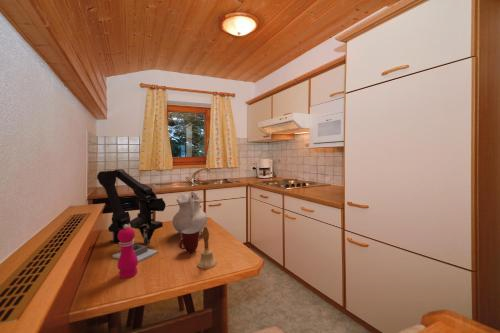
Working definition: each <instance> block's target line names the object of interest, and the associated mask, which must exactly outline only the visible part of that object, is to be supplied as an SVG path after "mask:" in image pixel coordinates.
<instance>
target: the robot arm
mask: <svg viewBox="0 0 500 333" xmlns="http://www.w3.org/2000/svg"><path fill="white" fill-rule="evenodd" d="M96 179H97V181H98V183H99V184H100V185H101V186H102V187H103V188H104V190H105V193H106V196H107V200H108V202H109V205H110V208H111V211H112V216H111V224H110V226H108V227H107V230H108V232H111V233H112V239H111V240H110V242H112V243H114V244H120V243H119V242H120V240H119V239H118V233H119V231H120V230H122V229H124V228H123V226H124V225H125V224H127V225H128V226H130V228H132V229H135V230H136V229H138V230H139V232H140V234H141V237H142V238H143V240H144V237H143V228H145V227H148V228H146V229H145V230H146V231H147V236H148V240H150V241H151V239H152V237H153V234H154V232H155V230H157V229H158V230H159V229H160V228H163V227H164V223H163V222H162V221H159V220H156V221H155V220H154V219H153V216H152V215H153V214H154V212H164V211H165V209H166V202H165V200H163V197H158V196H157V195H156V194H155V192H154V191H153V188H152V187H151V186H150V185H148V184H145V183H142V182H139V181H138V180H137V179H135V178H134V177H132V176H131V175H130V174H129V173H128V172H126V171H125V170H124V169H123V168H119V169H118V168H117V169H114V170H110V169H109V170H102V171H98V173H97V175H96ZM117 179H118V180H119V181H121V182H122V183H124V184H125V185H126V186H127V187H129V188H130V189H132V191H133V193H134V194H133V195H135V196H136V197H137V199H136V200H135V201H134V202H135V203H138V206H139V212H138V213H137V217H135V218H134V217H133V219H131V216H130V213H129V211H125V210H124V208H123V206H122V202H121V200H120V195H119V193H118V190H117V188H116V183H117Z"/></svg>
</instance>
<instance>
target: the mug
mask: <svg viewBox="0 0 500 333" xmlns="http://www.w3.org/2000/svg"><path fill="white" fill-rule="evenodd" d="M181 234H182V237H181V240H180V241H179V244H178V247H179V249H180V250H185V251H186V253H189V254H192V253H195V252H196V251H197V249H198V246H199V240H200V236H199V230H198V229H196V228H190V229H185V230H183V231H182V233H181Z"/></svg>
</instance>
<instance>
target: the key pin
mask: <svg viewBox="0 0 500 333" xmlns="http://www.w3.org/2000/svg"><path fill="white" fill-rule="evenodd" d="M146 228H148V227H145V228H143V237H144V239H143V244H144V245H149V244H150V243H151V239H150V240H148V236H147V231H146V230H145V229H146ZM143 237H142V238H143Z"/></svg>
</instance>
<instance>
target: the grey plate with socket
mask: <svg viewBox="0 0 500 333" xmlns="http://www.w3.org/2000/svg"><path fill="white" fill-rule="evenodd" d="M133 250H134V253H135V255H136V256H137V259H138V264H139V263H141V262H143V261H145V260H148V259H149V258H151V257H153V256H155V255H157V254H159V251H158V250H155V249H151V248H148V246H147V245H142V244H139V243H136V244H133ZM120 255H121V251H119V252H117V253H114V254H112V258H114V259H117V260H119V258H120Z"/></svg>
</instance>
